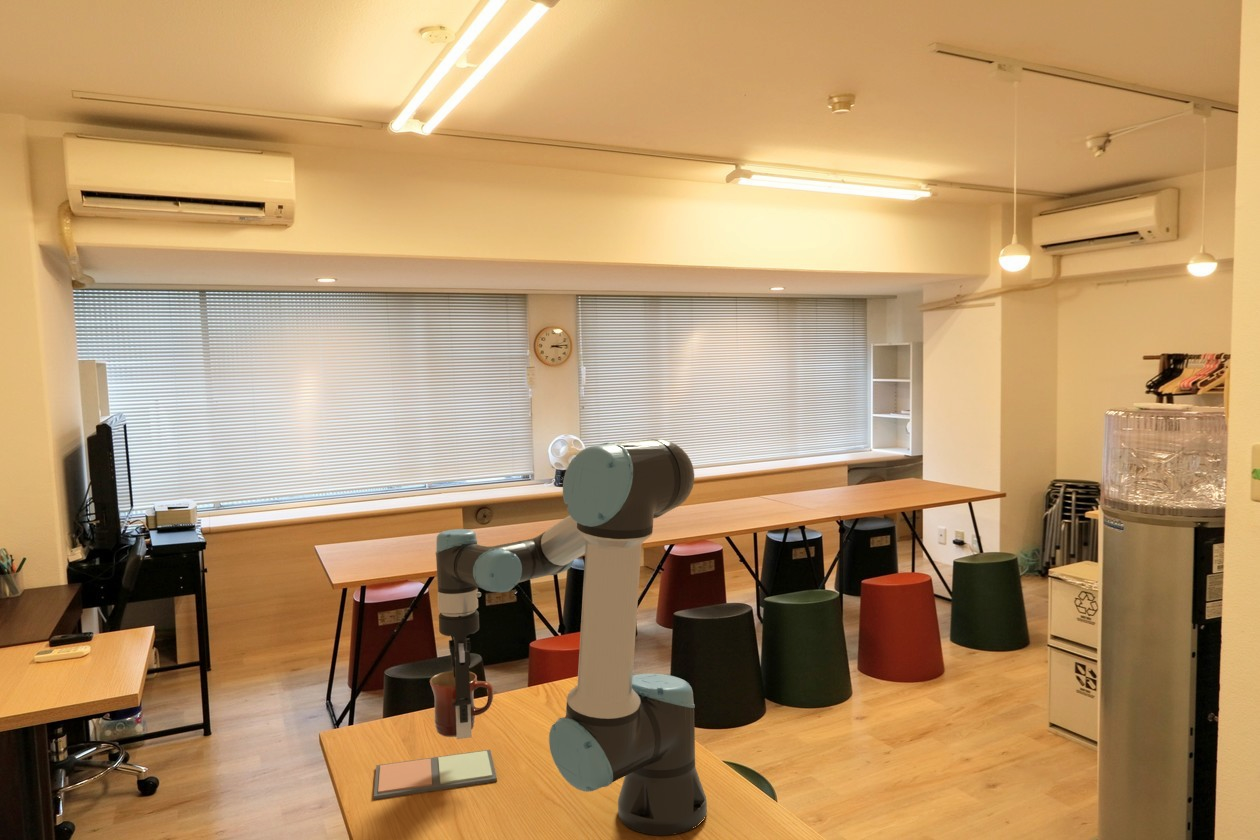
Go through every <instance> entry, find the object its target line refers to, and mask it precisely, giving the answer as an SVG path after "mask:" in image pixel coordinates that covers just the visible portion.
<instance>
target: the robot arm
mask: <svg viewBox="0 0 1260 840" xmlns="http://www.w3.org/2000/svg"><path fill="white" fill-rule="evenodd" d="M694 484H695V469H694V466H693V462H692V460H691V459H690V457H689V456H688V454H687V453H686V452H685V451H684V449H683V448H682V447H680V446H679V445H677V444H675V442H672V441H670V440H666V439H660V438H653V439H651V438H650V439H644V440H633V441H632V440H631V441H621V442H619V441H618V442H604V443H600V444H598V445H594V446H593V445H591V446H589V447H586V448H584V449H581V450H580V451H579V452H578V453H577V455H575V456H574V457H573V458H572V459H571V461H570V462H569V464H568V465H567V468H566V470H565V474H564V477H563V481H562V499H563V502H564V504H565V505H567V508H566V511H567V512H568V514H569V515H568V516H565V518H563V519H561V520H560V521H558V522H556V523H555V524H554V525H552V526H551V527H550V528H549V527H548V529H546V530H545V531H544V532H542V533H541V534H539V535H537V536H536V537H533V538H529V539H523V540H518V541H514V542H508V543H503V544H502V543H501V544H497V545H492V546H490V545H489V546H487V545H479V544H478V540H477V534H476V532H474V530H472V529H466V528H457V529H456V528H455V529H449V530H443V531H441V532H439V533H438V534H437V536H436V551H435V560H436V574H437V575H436V581H437V610H438V612H440V613H439V614H438V631H439V634H441V635H442V636H444V637H445V636H446V637H450V638H451V639H449V640H448V649H449V653H450V660H451V667H452V671H453V672H454V677H455V683H456V703H452V705H453V706H456V733H457V737H456V740H463V739H469V738H472V730H471V706H470V704H471V699H470V676H469V672H470V665H471V651H472V643H471V639H470V638H467V636H469V635H472V634H475V633H476V632H478V631H479V630H480V616H479V615H480V613H479V611H478V610H477V609H478V608H479V599H478V598H480V597H481V596H482V592H480V591H479V589H483V590H484V591H486V592H492V593H507V592H509V591H511V590H512V589H513V588H515V587H516V586H517V585H518V584H519V583H522V582H526V581H529V580H534V579H538V578H543V577H547V576H555V575H558V574H561V573H564V572H566V571H569V569H570V568H572V566H573V563H574V562H575V560H577V559H578V558H580V557H582V556H584V566H583V567H584V568H583V569H584V570H583V583H582V585H583V586H582V601H581V602H582V603H581V619H580V621H581V622H580V636H579V637H580V638H579V650H578V651H579V653H578V667H577V668H578V670H577V671H578V672H577V685H576V686H574V687H573V688H572V689H570V691H568V693H567V696H566V706H565V707H566V708H565V712H566V713H565V716H564V717H559V718H558V719H557V720H556V721H555V723H554V724H552V725H551V727H550V730H549V733H548V734H549V736H548V744H549V751H550V754H551V757H552V759H553V762H554V764H555V766H556V768H557V769H558V771H559V773H560V775H561V776H562V778H563V779H565V781H566V782H567V783H568V784H570V786H572V787H573V788H575V789H576V790H579V791H580V792H581V791H582V792H586V793H588V792H594V791H596V790H599V789H602V788H607V787H609V786H610V785H612V783H614V782H616V781H619V780H620V779H622V778H623V781H622V785H621V788H620V792H619V795H618V799H617V812H618V813H617V815H618V818H619V820H620V822H621V823H622V824H623V825H625V827H627V828H630V829H631V830H633V831H635V832H638V833H642V834H646V835H653V836H670V835H669V834H672V835H675V834H674V833H678V834H682V833H681V832H683V833H686V832H688V831H687V830H689V831H691V830H693V829H694V828H693V827H695V826H697V825H698V824H699V823H700V822H701V821H702V820H703V819H704V817H705V816H706V817H707V815H706V813H707V814H708V805H707V802H708V801H707V796H706V793H705V790H704V788H703V785H702V782H701V779H700V776H699V773H698V771H697V768H696V742H695V741H696V740H695V739H696V736H695V734H696V733H695V731H696V730H695V727H696V726H695V708H696V707H695V706H696V705H695V703H694V692H693V688H692V686H691V685H690V683H689V682H688V681H686V680H685V679H682V678H680V677H677V676H674V675H669V674H662V673H639V674H638V673H637V674H634V662H635V647H636V633H637V632H636V631H637V619H638V618H637V617H638V616H637V615H638V603H639V601H638V600H639V589H640V588H639V587H640V574H641V561H642V560H641V559H642V558H641V557H642V544H643V543H644V542H645V541H647V540H648V539H649V538H650V537H651V536H652V535H653V531H654V529H653V528H654V527H653V526H654V519H657V518H659V517H661V516H663V515H665V514H667V513H668V512H671V511H672V510H674V509H676V508H678V507H680V506H681V505H682V504H684V503H685V502H686V500H687V499H688V498H689V496H690V495H691V493H692V491H693V488H694ZM478 588H479V589H478ZM697 827H698V826H697ZM692 828H693V829H692ZM695 828H696V827H695ZM690 829H691V830H690ZM685 831H686V832H685Z"/></svg>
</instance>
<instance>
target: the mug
mask: <svg viewBox="0 0 1260 840" xmlns="http://www.w3.org/2000/svg"><path fill="white" fill-rule="evenodd" d="M469 676H470V699H471V704H470V706H471V731H472V730H473V729H474V726H475V725H474V724H475V718H476V716H480V715H482V714H484V713H485V712H487V711H488V710H489V709H490V707H491V705H492V704H493V700H494V688H493V685H492V684H491V683H490V682H489V681H482V680H478V679H477V678H478V676H477V674H476V673H474V672H472V671H469ZM429 683H430V686H431V690H432V692H433V696H434V724H435V729H436V732H437V734H439V735H441V736H443V737H445V738H446V737H447V738H457V733H456V706H453V705H452V703H456V683H455V677H454V672H453V670H449V671H444V672H440V673H438V674H435V675H433V676H432V677H431V678H430V679H429ZM478 688H485V689H486V690H487V701H486V704H485V705H484V706H480V707H476V705H475V700H474V698H475V697H474V691H475V690H477V689H478Z"/></svg>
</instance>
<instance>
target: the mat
mask: <svg viewBox="0 0 1260 840" xmlns="http://www.w3.org/2000/svg"><path fill="white" fill-rule="evenodd" d="M496 772H497V771H496V767H495V764H494V760H493V755H492V750H491V749H485V750H478V751H470V752H463V753H456V754H454V753H453V754H448V755H442V756H434V757H427V758H426V757H425V758H420V759H413V760H404V761H403V760H402V761H397V762H390V763H383V764H376V766H375V777H374V789H373V800H380V799H387V798H394V797H400V796H408V795H413V794H421V793H427V792H433V791H441V790H447V789H455V788H462V787H467V786H468V787H469V786H474V785H481V784H488V783H489V784H490V783H495V782H496V783H497V781H498V778H497V773H496Z"/></svg>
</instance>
